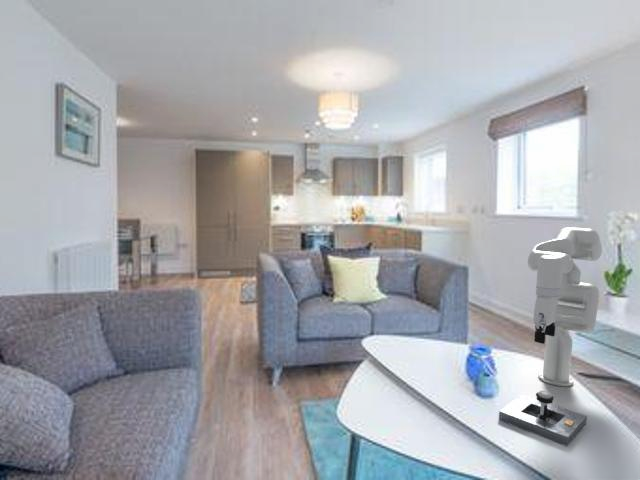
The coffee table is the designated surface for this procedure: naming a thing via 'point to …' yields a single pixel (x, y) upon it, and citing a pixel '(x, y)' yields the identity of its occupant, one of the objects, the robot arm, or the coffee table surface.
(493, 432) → the coffee table surface
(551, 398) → the black knob lever
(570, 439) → the frame
